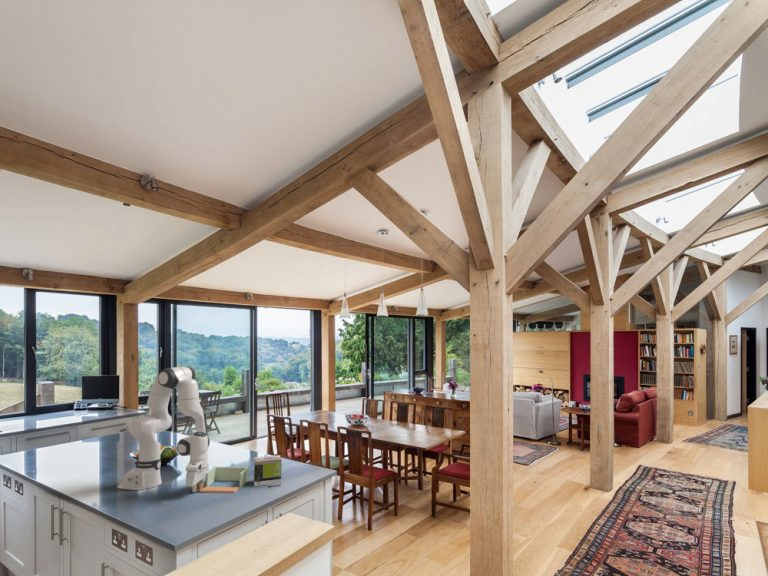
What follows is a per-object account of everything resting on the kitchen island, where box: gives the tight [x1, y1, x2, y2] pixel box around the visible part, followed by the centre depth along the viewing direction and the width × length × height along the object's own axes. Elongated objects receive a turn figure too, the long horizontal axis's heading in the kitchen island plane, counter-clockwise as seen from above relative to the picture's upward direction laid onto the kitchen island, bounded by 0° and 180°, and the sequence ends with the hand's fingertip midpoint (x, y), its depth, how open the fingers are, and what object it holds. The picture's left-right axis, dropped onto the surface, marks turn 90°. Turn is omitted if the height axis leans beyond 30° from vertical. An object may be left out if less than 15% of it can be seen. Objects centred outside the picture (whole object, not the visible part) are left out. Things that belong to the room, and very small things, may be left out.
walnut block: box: [190, 481, 205, 493], centre depth 239 cm, size 5×5×5 cm
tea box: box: [253, 454, 282, 487], centre depth 253 cm, size 15×10×15 cm, turn 108°
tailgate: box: [199, 486, 240, 494], centre depth 239 cm, size 19×1×8 cm
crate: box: [205, 466, 250, 488], centre depth 250 cm, size 20×12×8 cm, turn 89°
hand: (197, 489), depth 239 cm, fingers closed on walnut block, 5 cm apart
